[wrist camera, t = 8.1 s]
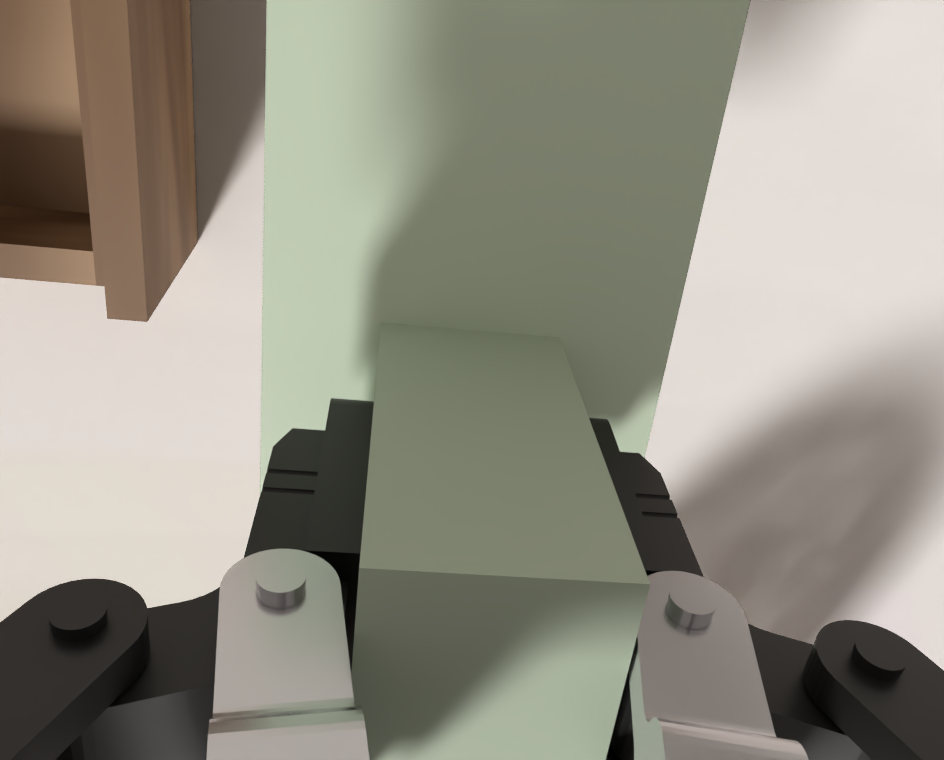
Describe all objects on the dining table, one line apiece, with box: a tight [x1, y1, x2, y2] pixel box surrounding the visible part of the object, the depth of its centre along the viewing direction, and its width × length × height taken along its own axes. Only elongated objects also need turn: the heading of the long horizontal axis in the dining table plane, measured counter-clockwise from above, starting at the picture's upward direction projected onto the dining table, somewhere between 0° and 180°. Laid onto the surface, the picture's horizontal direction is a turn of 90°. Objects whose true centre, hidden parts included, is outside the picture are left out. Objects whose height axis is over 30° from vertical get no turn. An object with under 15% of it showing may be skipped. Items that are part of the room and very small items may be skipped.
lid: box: [260, 0, 750, 760], centre depth 12 cm, size 6×16×7 cm, turn 173°
